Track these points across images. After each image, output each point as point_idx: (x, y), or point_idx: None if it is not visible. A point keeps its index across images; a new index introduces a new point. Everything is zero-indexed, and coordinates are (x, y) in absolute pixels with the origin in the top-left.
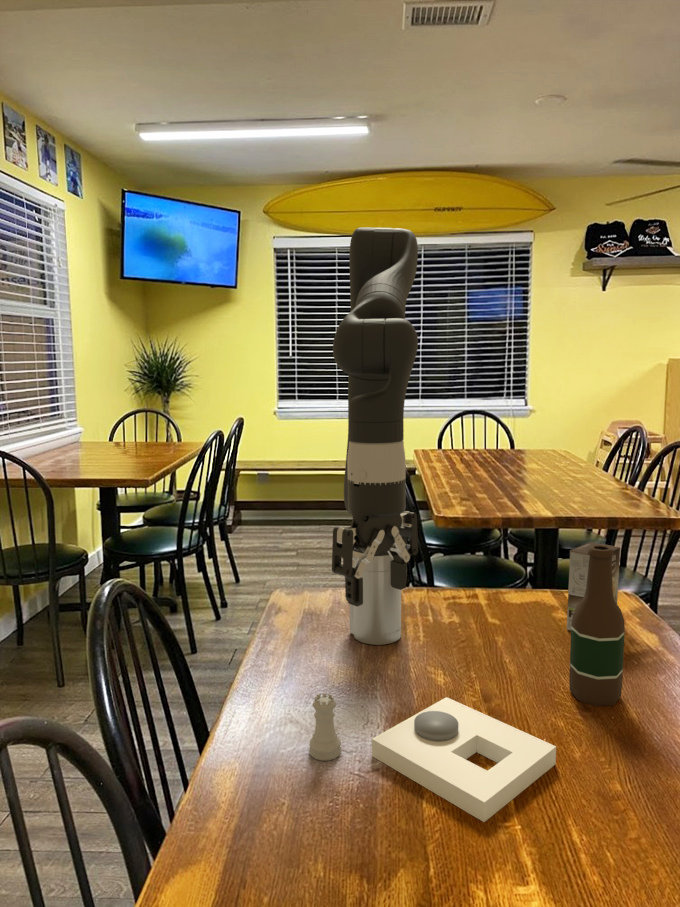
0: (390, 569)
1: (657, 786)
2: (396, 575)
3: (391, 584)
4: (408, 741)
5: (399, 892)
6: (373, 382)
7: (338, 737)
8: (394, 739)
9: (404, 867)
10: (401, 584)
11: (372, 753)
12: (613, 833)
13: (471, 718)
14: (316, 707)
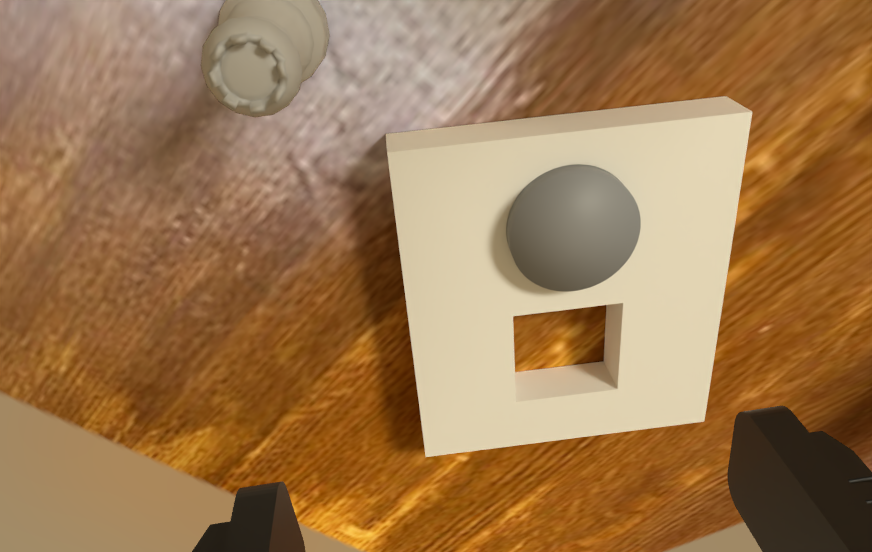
0: (824, 515)
1: None
2: (787, 532)
3: (746, 424)
4: (463, 224)
5: (176, 457)
6: None
7: (316, 57)
8: (438, 194)
9: (217, 427)
10: (746, 516)
11: (386, 137)
12: (567, 530)
13: (686, 244)
14: (207, 75)
